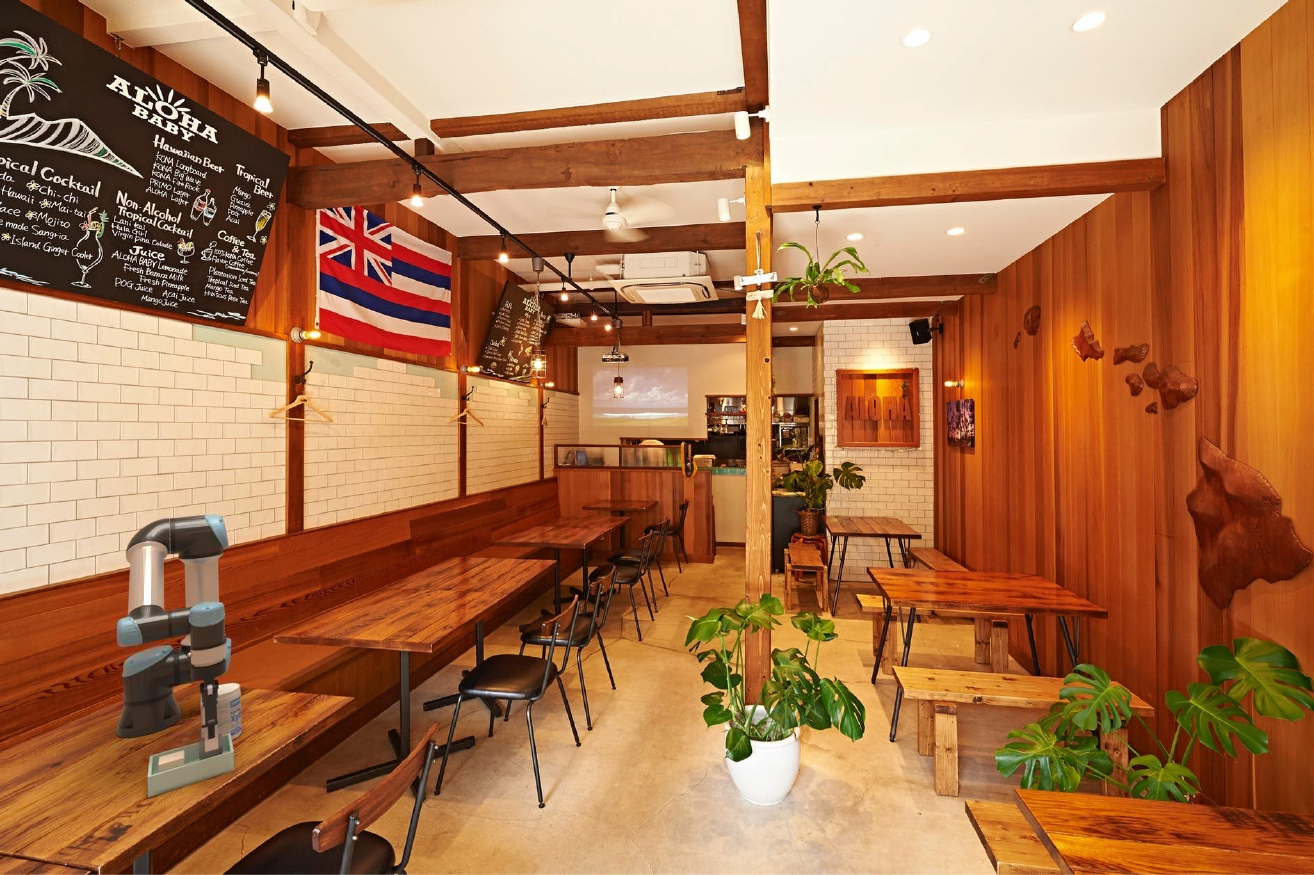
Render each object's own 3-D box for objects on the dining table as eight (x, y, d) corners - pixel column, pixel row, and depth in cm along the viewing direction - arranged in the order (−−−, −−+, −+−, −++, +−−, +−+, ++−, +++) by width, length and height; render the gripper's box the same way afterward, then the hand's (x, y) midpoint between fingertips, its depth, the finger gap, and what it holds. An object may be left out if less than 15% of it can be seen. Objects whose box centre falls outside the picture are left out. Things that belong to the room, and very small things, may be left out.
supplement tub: (240, 740, 168) (239, 690, 168) (199, 751, 163) (198, 699, 163) (242, 727, 176) (241, 679, 176) (203, 737, 171) (202, 688, 171)
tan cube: (160, 776, 150) (159, 757, 150) (184, 768, 153) (184, 750, 153) (159, 784, 146) (158, 765, 146) (184, 776, 149) (183, 757, 149)
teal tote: (150, 774, 151) (150, 756, 151) (231, 750, 162) (230, 733, 162) (148, 797, 141) (147, 777, 141) (234, 770, 152) (233, 751, 152)
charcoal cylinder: (199, 764, 155) (198, 738, 155) (222, 757, 158) (221, 731, 158) (199, 772, 151) (199, 745, 151) (223, 764, 154) (222, 738, 154)
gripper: (190, 653, 162) (192, 727, 162) (191, 679, 143) (193, 764, 142) (223, 646, 167) (225, 718, 166) (228, 670, 147) (230, 753, 147)
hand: (210, 740), depth 154 cm, fingers open, 13 cm apart
